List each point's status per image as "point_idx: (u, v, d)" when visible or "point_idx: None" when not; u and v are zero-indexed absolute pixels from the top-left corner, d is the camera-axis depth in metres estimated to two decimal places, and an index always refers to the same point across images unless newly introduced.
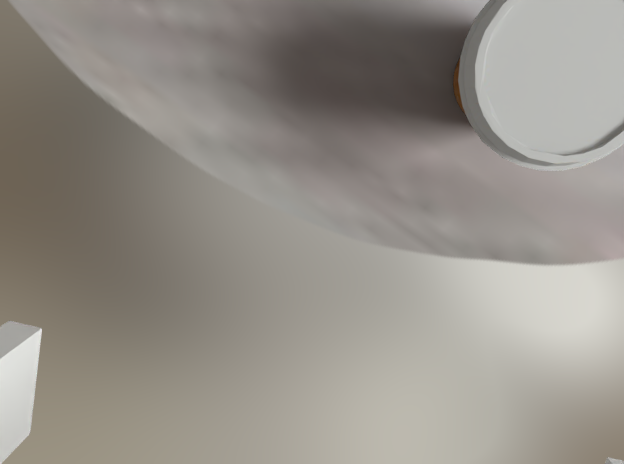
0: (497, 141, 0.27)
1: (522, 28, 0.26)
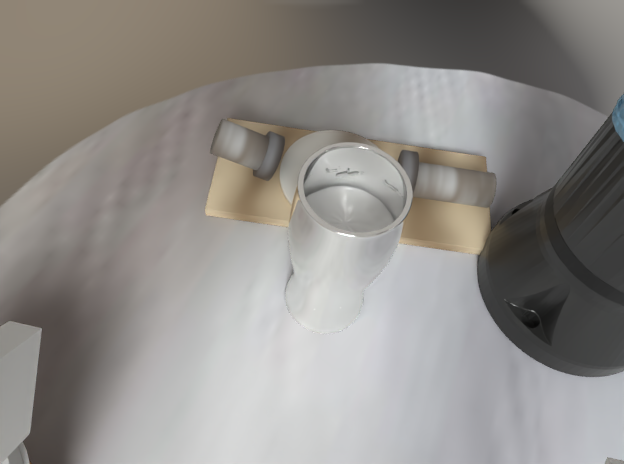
0: None
1: None
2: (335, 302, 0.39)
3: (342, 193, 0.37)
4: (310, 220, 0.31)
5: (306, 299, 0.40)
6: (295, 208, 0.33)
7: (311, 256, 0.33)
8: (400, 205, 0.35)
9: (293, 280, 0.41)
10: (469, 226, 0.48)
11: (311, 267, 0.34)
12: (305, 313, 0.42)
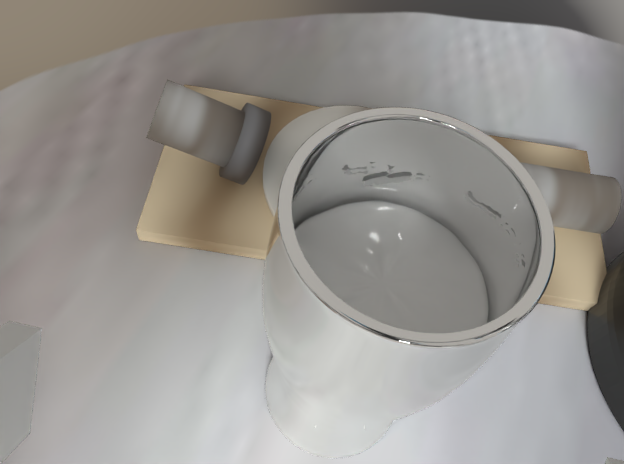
0: None
1: None
2: (356, 426, 0.20)
3: (376, 217, 0.18)
4: (307, 296, 0.12)
5: (301, 410, 0.21)
6: (273, 259, 0.14)
7: (309, 366, 0.15)
8: (507, 250, 0.16)
9: (278, 368, 0.23)
10: (571, 264, 0.30)
11: (308, 382, 0.16)
12: (299, 428, 0.23)
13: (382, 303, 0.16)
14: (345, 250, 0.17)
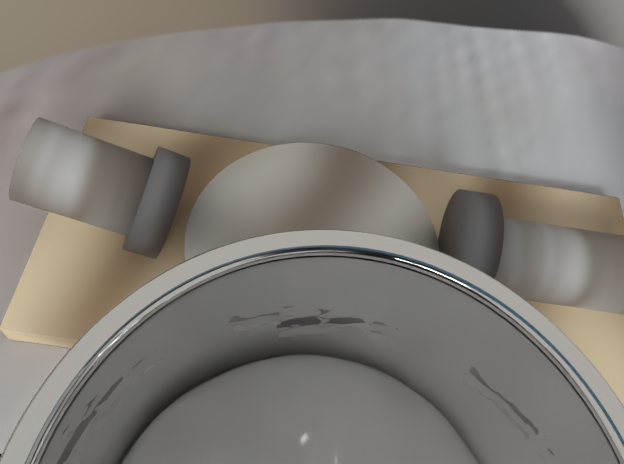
0: None
1: None
2: None
3: (302, 395, 0.10)
4: None
5: None
6: None
7: None
8: None
9: None
10: (608, 360, 0.22)
11: None
12: None
13: None
14: None
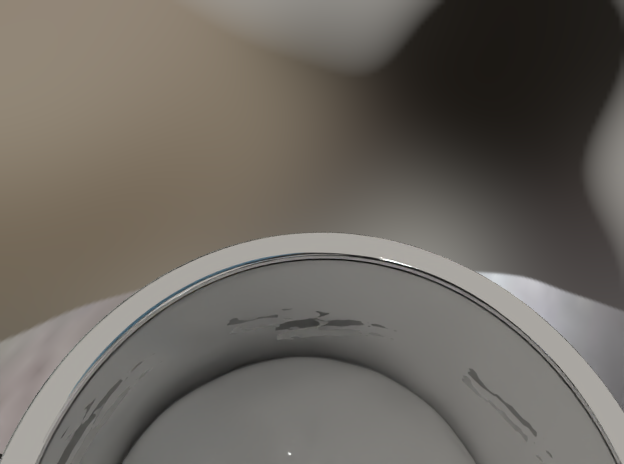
0: None
1: None
2: None
3: (301, 397, 0.10)
4: None
5: None
6: None
7: None
8: None
9: None
10: None
11: None
12: None
13: None
14: None
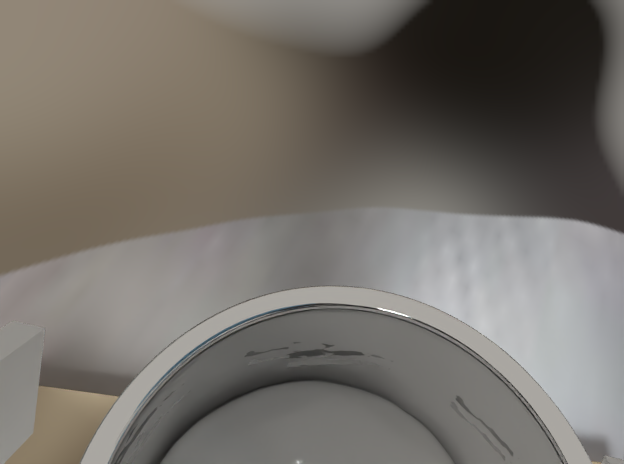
0: None
1: None
2: None
3: (308, 418, 0.11)
4: None
5: None
6: None
7: None
8: None
9: None
10: None
11: None
12: None
13: None
14: None
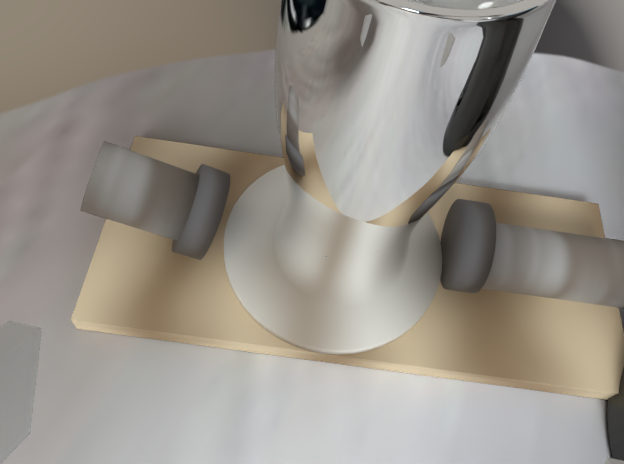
0: None
1: None
2: (369, 237, 0.20)
3: None
4: None
5: (312, 236, 0.21)
6: None
7: (326, 107, 0.15)
8: None
9: (287, 206, 0.23)
10: (586, 344, 0.25)
11: (323, 144, 0.16)
12: (309, 266, 0.23)
13: None
14: None
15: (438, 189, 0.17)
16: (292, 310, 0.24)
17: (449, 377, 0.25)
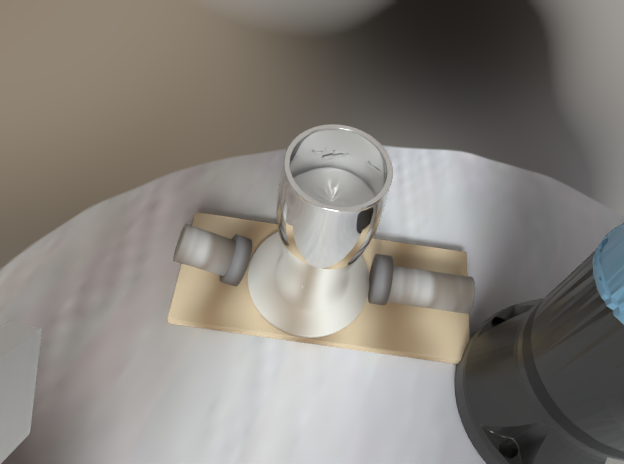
0: None
1: None
2: (322, 279, 0.41)
3: (328, 174, 0.39)
4: (295, 196, 0.33)
5: (295, 277, 0.42)
6: (282, 185, 0.35)
7: (297, 231, 0.35)
8: (383, 185, 0.37)
9: (282, 259, 0.43)
10: (447, 333, 0.46)
11: (297, 243, 0.36)
12: (294, 291, 0.44)
13: None
14: (313, 188, 0.38)
15: (350, 260, 0.38)
16: (285, 314, 0.45)
17: (370, 351, 0.46)
